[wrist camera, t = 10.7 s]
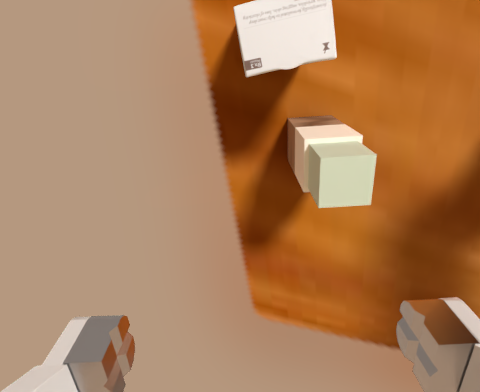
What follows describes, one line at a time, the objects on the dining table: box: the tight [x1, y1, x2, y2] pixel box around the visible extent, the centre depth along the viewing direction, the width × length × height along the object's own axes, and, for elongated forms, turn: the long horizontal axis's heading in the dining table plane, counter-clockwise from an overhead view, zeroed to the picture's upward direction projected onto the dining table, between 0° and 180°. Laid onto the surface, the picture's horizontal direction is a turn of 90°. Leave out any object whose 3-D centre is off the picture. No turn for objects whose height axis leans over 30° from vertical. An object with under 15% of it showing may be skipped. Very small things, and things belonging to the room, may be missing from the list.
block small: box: [308, 141, 377, 208], centre depth 32 cm, size 5×5×5 cm
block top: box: [295, 124, 363, 192], centre depth 37 cm, size 6×6×6 cm
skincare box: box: [234, 0, 337, 77], centre depth 33 cm, size 8×6×15 cm
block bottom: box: [288, 115, 344, 174], centre depth 42 cm, size 6×6×6 cm
